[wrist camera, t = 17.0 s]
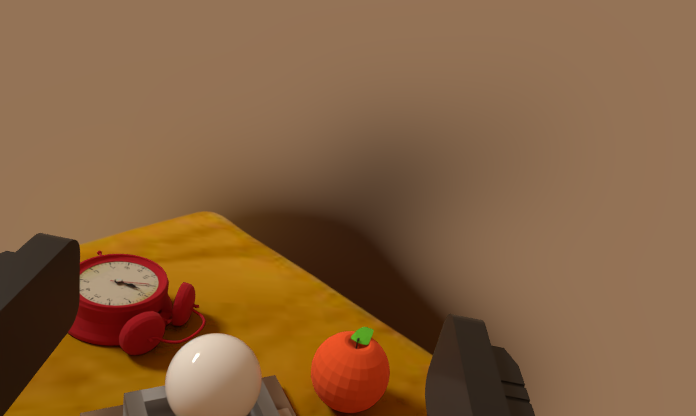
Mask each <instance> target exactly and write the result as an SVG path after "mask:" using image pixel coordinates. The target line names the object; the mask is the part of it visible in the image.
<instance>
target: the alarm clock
mask: <svg viewBox="0 0 696 416" xmlns="http://www.w3.org/2000/svg"><path fill="white" fill-rule="evenodd" d="M97 254H98V255H100V256H96V257H93V258H90V259H87V260H85V261H83V262H81V263H80V302H79V308H78V313H77V316H76V319H75V321H74V323H73V325H72V327H71V329H70V330H69V331H68V333H69V334H70V335H72V336H73V337H75V338H77V339H79V340H82V341H85V342H88V343H92V344H98V345H107V346H114V345H120V346H121V348H122V349H123V351H125V352H126V353H128V354H130V355H141V354H144V353H147V352H149V351H150V350H152V349H153V348H155V347H156V346H157V345H158V344H159V343H160V341H161V342H165V343H172V344H177V343H182V342H185V341H188V340H190V339H191V338H193V337H194V336H196V335H197V334H198V333H199V332H200V331H201V330H202V329H203V327H204V326H205V322H206V321H205V318H204V316H203V315H202V314H200V313H199V312H197V311H196V310H194V309H193V307H195V308H199V305H195V304H194V302H195V290H194V287H193V286H192V285H191V284H189V283H185V282H183V283H182V284H181V286H180V288H179V290H178V292H177V295H176V298H175V301H174V305H173V307H172V301H171V299H170V297H169V296H168V285H169V281H168V278H167V275H166V273H165V271H164V270H163V268H162V267H161V266H159V265H158V264H157V263H155V262H153V261H151V260H149V259H147V258H144V257H140V256H136V255H129V254H108V255H102V252H101V251H98V252H97ZM172 308H173V310H172ZM192 311H193V312H194V313H196V314H197V315H199V316H200V317H201V318H202V320H203V323H202V326H201V327H200V328H199V329H198V330H197V331H196V332H195V333H194V334H192V335H191V336H189V337H187V338H185V339H182V340H177V341H172V340H165V339H162V338H163V336H164V332H165V326H166V325H167V324H169V323H170V322H171V321H172V325H175V326H182V325H184V324H185V323H186V322H187V321H188V319H189V318H190V316H191V313H192ZM171 316H172V320H171Z"/></svg>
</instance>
